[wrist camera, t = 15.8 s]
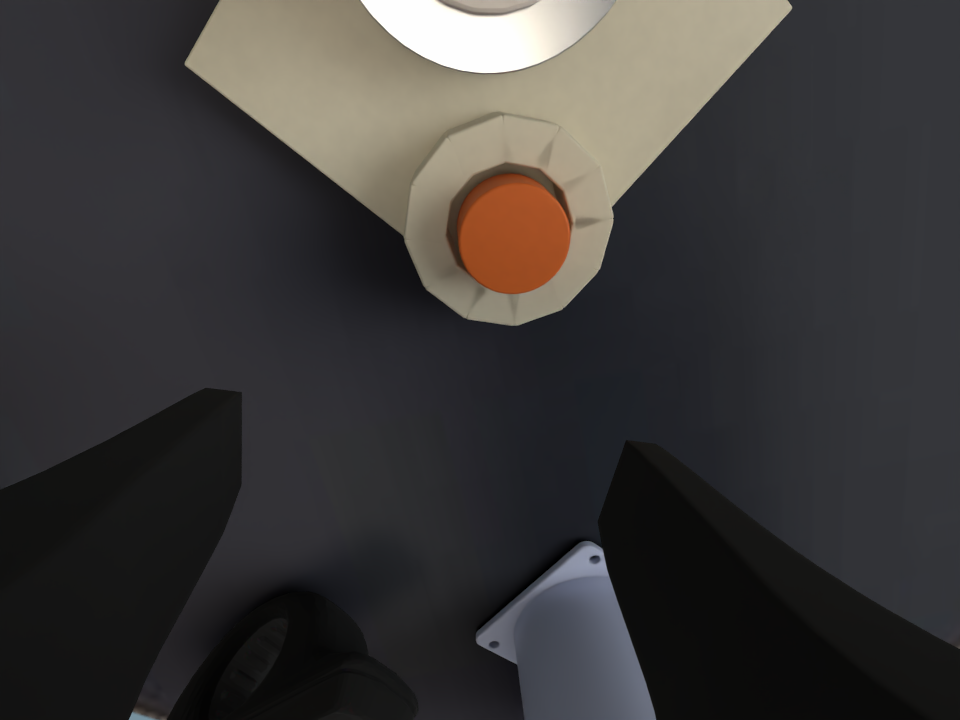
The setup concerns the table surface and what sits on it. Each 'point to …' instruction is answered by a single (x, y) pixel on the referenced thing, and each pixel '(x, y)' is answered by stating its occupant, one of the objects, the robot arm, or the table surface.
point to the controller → (295, 670)
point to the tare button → (512, 234)
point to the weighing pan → (487, 32)
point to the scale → (478, 118)
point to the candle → (489, 5)
